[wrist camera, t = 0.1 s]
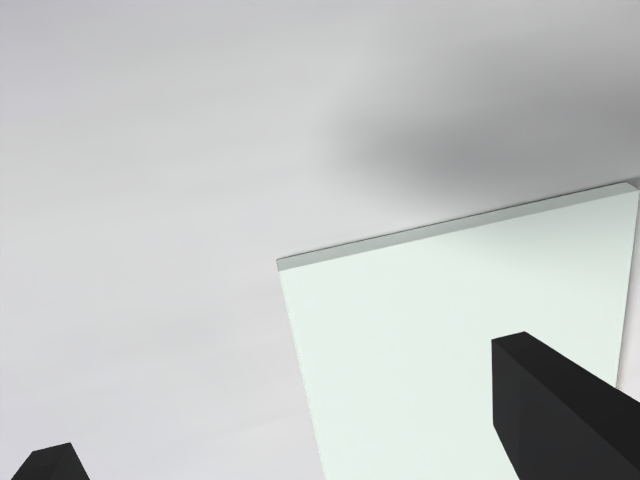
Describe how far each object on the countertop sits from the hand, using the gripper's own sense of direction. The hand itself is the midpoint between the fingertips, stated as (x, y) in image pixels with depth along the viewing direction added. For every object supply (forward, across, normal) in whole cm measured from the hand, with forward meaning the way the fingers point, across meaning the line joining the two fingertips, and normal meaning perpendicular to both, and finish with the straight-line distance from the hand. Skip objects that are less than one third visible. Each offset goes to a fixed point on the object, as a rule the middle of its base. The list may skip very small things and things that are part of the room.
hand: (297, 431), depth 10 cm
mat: (+10, -7, +10) cm, 16 cm away
